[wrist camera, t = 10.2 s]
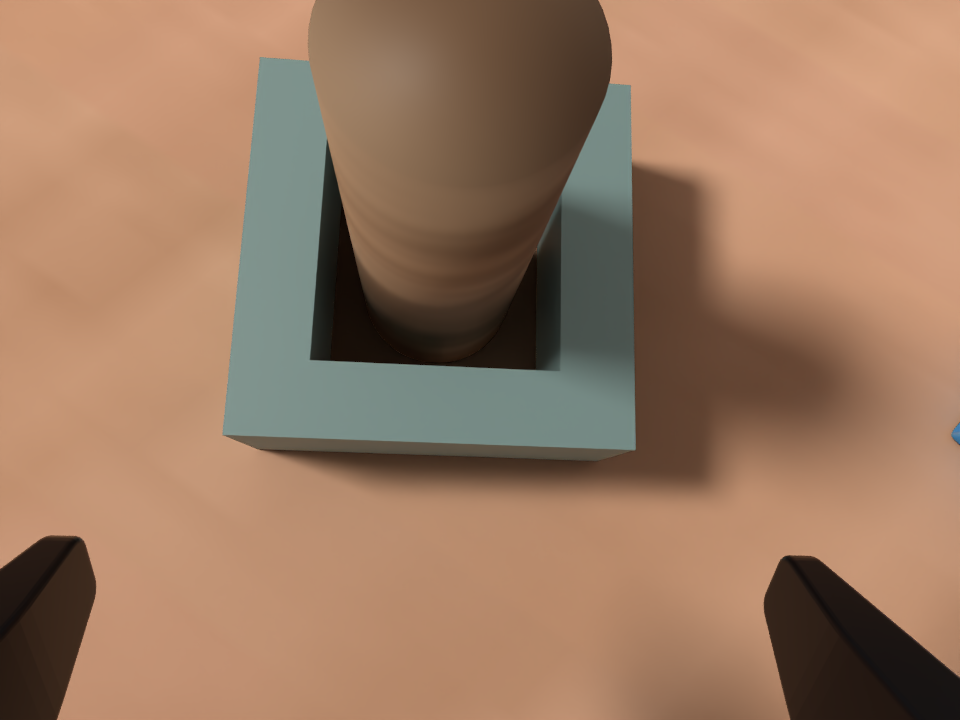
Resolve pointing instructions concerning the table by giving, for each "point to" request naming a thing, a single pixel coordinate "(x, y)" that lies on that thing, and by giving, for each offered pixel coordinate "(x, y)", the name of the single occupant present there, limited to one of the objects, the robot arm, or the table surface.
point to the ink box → (956, 433)
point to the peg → (453, 149)
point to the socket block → (423, 388)
